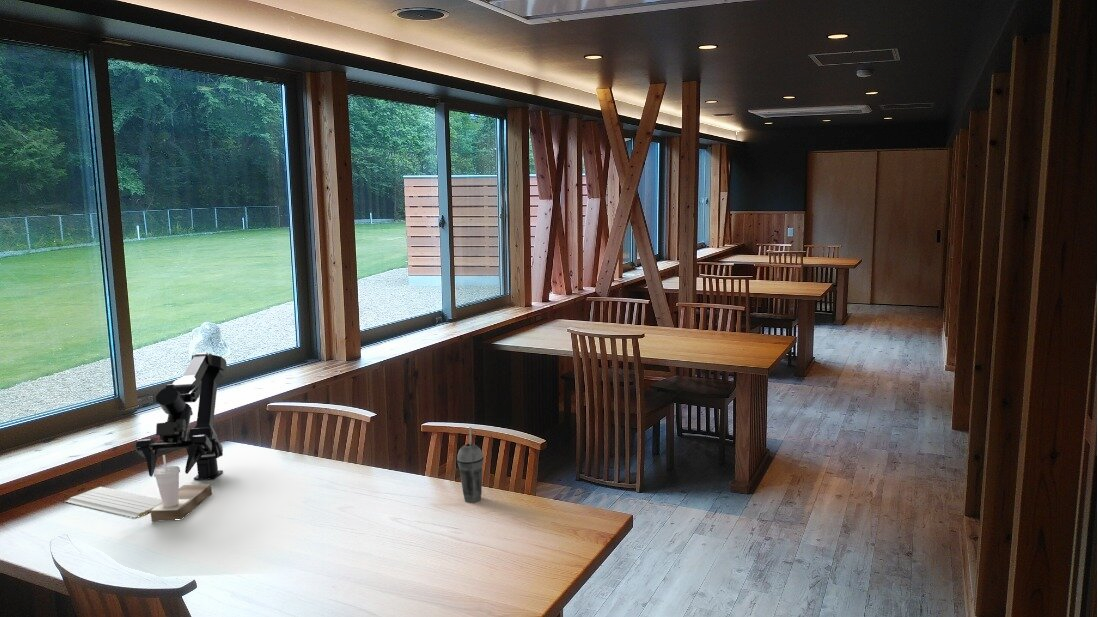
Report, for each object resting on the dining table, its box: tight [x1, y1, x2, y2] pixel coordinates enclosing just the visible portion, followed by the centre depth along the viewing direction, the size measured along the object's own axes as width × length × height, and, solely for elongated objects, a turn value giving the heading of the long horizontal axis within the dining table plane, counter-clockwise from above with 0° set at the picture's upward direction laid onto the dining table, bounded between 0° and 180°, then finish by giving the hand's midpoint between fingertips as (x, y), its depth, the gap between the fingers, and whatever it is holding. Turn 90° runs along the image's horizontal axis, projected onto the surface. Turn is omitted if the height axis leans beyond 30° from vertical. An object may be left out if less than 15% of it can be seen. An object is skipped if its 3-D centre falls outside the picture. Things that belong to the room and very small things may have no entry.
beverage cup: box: [456, 426, 485, 504], centre depth 209 cm, size 7×7×20 cm
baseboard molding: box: [60, 483, 162, 519], centre depth 220 cm, size 31×3×12 cm
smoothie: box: [153, 454, 181, 507], centre depth 208 cm, size 6×6×14 cm
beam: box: [150, 483, 213, 522], centre depth 215 cm, size 18×8×3 cm, turn 179°
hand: (168, 474), depth 209 cm, fingers open, 9 cm apart
